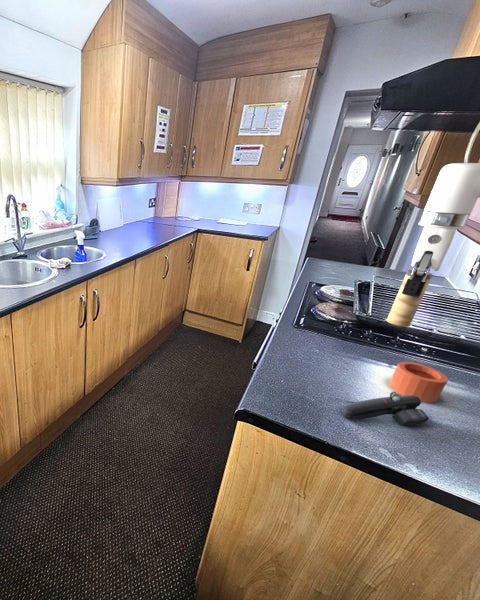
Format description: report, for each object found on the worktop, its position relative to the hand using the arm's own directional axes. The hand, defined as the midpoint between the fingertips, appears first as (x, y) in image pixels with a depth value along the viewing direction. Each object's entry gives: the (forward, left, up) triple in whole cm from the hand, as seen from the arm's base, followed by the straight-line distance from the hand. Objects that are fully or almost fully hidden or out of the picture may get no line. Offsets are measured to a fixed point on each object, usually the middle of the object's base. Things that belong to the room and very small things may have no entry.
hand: (411, 292), depth 83 cm
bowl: (-5, +7, -25) cm, 27 cm away
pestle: (0, 0, -9) cm, 9 cm away
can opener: (+7, +21, -25) cm, 34 cm away
